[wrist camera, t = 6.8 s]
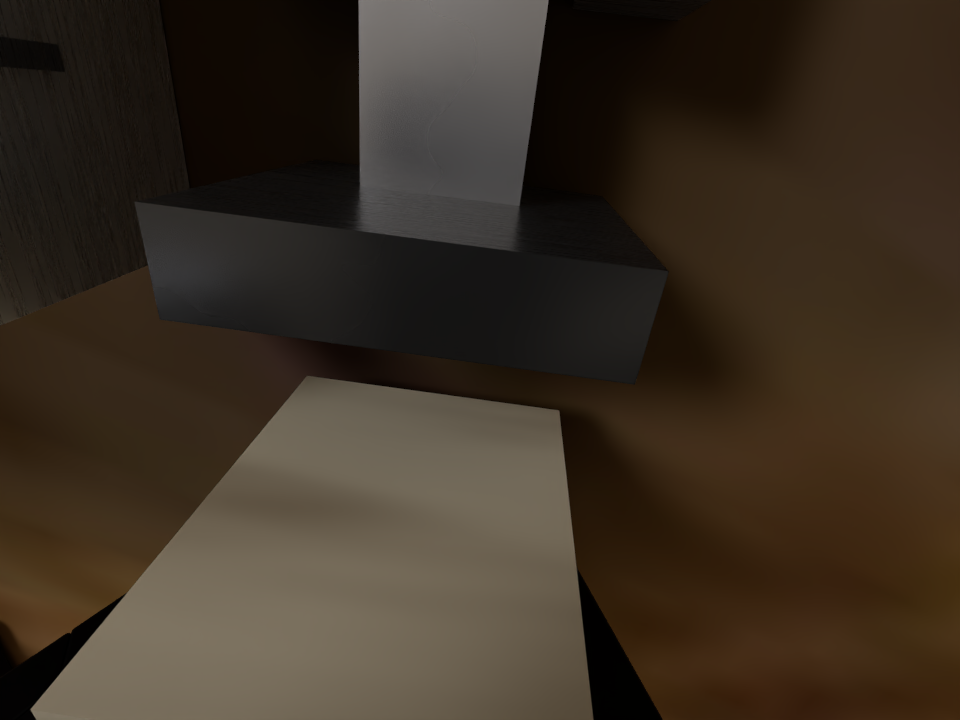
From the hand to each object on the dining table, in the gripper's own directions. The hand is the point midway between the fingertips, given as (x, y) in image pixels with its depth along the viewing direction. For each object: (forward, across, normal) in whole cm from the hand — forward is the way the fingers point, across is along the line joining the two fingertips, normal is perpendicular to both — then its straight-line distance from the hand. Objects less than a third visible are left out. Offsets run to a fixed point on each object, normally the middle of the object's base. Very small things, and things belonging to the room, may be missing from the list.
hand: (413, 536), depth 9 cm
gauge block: (+1, 0, 0) cm, 1 cm away
